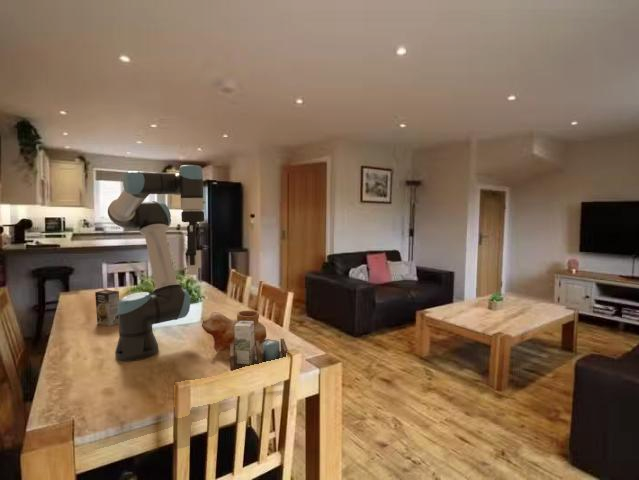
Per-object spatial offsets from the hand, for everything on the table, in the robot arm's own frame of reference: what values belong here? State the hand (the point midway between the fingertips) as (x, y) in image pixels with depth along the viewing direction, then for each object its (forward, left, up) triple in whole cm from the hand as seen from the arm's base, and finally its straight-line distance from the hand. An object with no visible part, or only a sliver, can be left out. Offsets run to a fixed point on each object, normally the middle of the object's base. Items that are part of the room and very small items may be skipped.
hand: (195, 271), depth 127 cm
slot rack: (+21, -3, -35) cm, 41 cm away
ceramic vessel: (+13, +17, -35) cm, 41 cm away
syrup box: (+16, -3, -34) cm, 38 cm away
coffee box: (-49, +63, -35) cm, 87 cm away
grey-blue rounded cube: (+26, -3, -34) cm, 42 cm away
